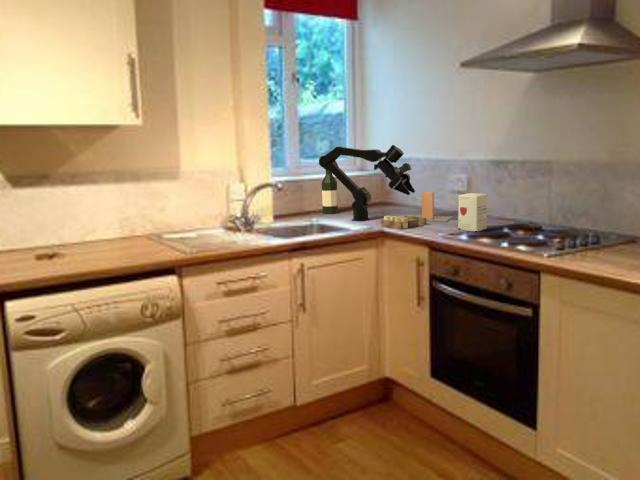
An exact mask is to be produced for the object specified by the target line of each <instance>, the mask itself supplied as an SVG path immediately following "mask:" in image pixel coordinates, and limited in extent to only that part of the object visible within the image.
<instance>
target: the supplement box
mask: <svg viewBox="0 0 640 480" xmlns="http://www.w3.org/2000/svg"><path fill="white" fill-rule="evenodd" d="M457 218H458V220H457V221H458V225H457V227H458V230H459V231H468V232H475V231H477V232H480V231H483V230H486V229H488V225H487V224H488V193H473V192H472V193H471V192H469V193H464V194H459V195H458V217H457Z"/></svg>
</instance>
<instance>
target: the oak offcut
mask: <svg viewBox="0 0 640 480" xmlns="http://www.w3.org/2000/svg"><path fill="white" fill-rule="evenodd" d="M395 221H396V222H403V229H402V230H407V229H409V228H408V218H406V217H405V216H397V217H395ZM406 228H407V229H406Z"/></svg>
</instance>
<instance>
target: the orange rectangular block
mask: <svg viewBox="0 0 640 480" xmlns="http://www.w3.org/2000/svg"><path fill="white" fill-rule="evenodd" d="M421 216H422V218H426V219H433V218H434V216H435V192H433V191H432V192H431V191H427V192H426V191H425V192H421Z"/></svg>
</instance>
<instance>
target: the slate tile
mask: <svg viewBox="0 0 640 480" xmlns="http://www.w3.org/2000/svg"><path fill="white" fill-rule="evenodd" d="M412 216H413V217H422V215H412ZM452 220H453V216H452V215H451V216H450V215H449V216H448V215H444V216H443V215H434V218H433V219H426V223H431V222H432V223H447V222H448V221H452Z"/></svg>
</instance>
